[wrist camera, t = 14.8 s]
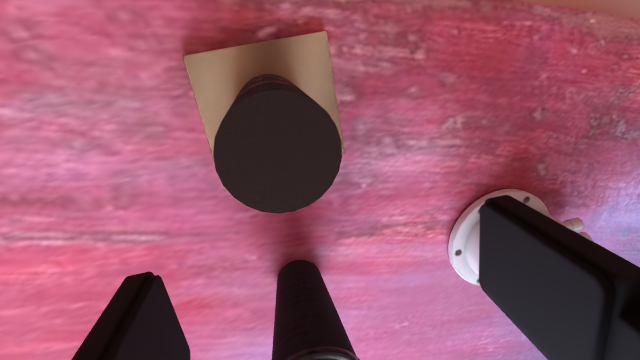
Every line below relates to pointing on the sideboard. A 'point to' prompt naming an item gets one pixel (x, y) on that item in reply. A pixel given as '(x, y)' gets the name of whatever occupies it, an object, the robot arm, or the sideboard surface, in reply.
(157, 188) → the sideboard surface
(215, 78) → the coaster
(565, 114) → the sideboard surface
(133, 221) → the sideboard surface
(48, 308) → the sideboard surface
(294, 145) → the deodorant
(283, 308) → the drinking cup
